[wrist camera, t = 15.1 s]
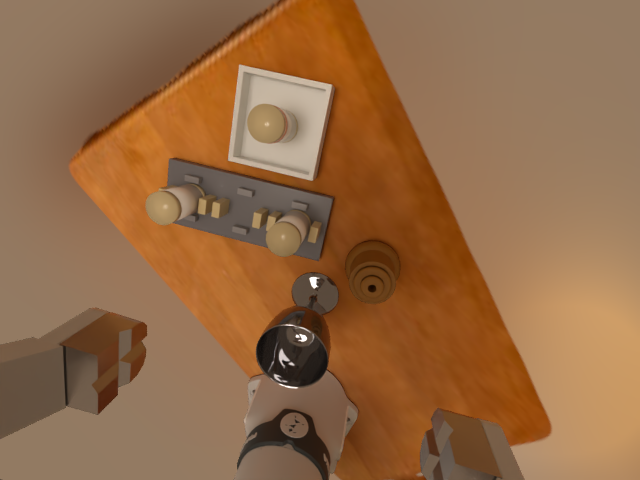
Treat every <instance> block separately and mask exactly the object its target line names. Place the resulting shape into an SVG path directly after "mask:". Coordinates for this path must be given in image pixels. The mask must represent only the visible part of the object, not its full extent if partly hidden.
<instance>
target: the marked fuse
mask: <svg viewBox="0 0 640 480" xmlns="http://www.w3.org/2000/svg"><path fill="white" fill-rule="evenodd" d="M247 126H248V130H249V132H250V134H251V136H252V137H253V138H254V139H255V140H257V141H259V142H261V143H267V144H272V143H285V142H289V141H291V140H292V139H293V138H294V137H295V136H296V134H297V132H298V122H297V119H296V117H295V116H294V115H293V114H292V113H291V112H290V111H287V110H284V109H281V108H279V107H277V106H274V105H270V104H259V105H257V106H255V107H254V108H253V109H252V110H251V111H250V113H249V115H248V119H247Z"/></svg>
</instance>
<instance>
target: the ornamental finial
mask: <svg viewBox="0 0 640 480" xmlns="http://www.w3.org/2000/svg"><path fill="white" fill-rule="evenodd" d="M345 270H346V274H347V277H348V279H349V286H350V289H351V292H352V293H353V295H354V296H355V297H356V298H357V299H359V300H360V301H362V302H365V303H368V304H378V303H381V302H384V301H386V300H387V299H389V298H390V297H391V295H392V294H393V292H394V290H395V287H396V281H397V279H398V277H399V274H400V261H399V258H398V256H397V254H396V253H395V251H394V250H393V249H392V248H391V247H390V246H388V245H386V244H384V243H382V242H378V241H367V242H363V243H360V244H359V245H357V246H355V247H354V248H353V249H352V250H351V251H350V253H349V254H348V256H347V259H346V263H345Z"/></svg>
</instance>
